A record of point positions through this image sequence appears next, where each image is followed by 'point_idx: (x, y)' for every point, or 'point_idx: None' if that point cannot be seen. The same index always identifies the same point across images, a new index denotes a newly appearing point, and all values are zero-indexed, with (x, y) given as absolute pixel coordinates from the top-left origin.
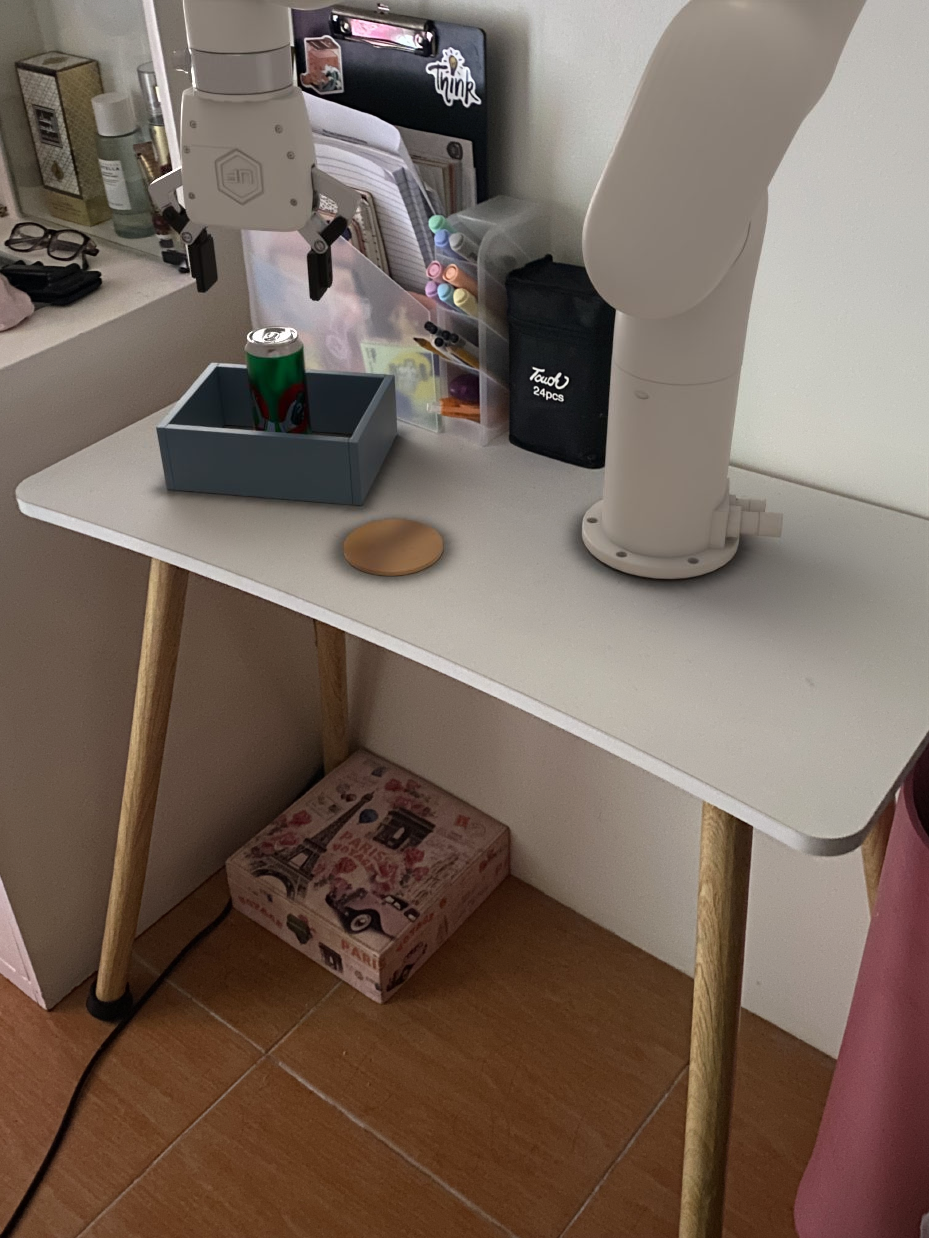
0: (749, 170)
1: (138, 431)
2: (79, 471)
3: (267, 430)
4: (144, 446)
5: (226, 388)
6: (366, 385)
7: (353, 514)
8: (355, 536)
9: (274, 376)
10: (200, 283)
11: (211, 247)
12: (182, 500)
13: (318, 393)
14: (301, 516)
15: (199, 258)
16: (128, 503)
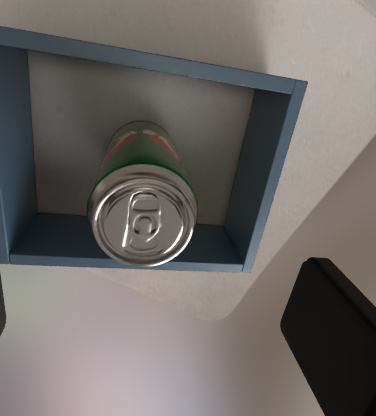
0: None
1: (306, 207)
2: (360, 120)
3: (154, 132)
4: (298, 177)
5: (227, 248)
6: (41, 248)
7: (17, 8)
8: None
9: (134, 152)
10: (329, 270)
11: (333, 399)
12: (247, 50)
13: None
14: (89, 2)
15: (372, 329)
16: (307, 42)
